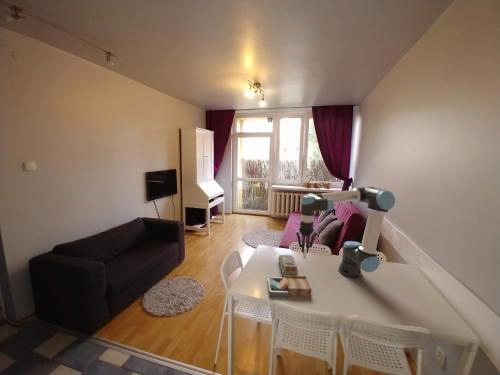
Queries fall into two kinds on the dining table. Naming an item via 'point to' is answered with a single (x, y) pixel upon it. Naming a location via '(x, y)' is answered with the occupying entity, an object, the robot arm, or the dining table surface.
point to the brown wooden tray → (298, 286)
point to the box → (274, 292)
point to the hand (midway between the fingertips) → (304, 257)
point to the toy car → (288, 265)
